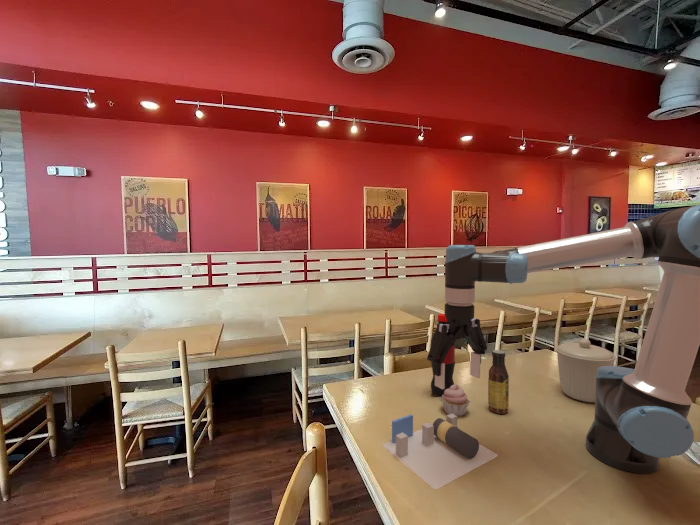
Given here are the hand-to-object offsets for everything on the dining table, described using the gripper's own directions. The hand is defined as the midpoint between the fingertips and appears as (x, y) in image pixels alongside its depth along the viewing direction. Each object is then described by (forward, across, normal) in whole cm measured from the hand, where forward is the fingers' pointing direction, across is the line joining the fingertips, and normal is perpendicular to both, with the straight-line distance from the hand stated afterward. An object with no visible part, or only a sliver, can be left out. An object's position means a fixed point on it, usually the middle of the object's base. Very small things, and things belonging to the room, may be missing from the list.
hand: (458, 381), depth 91 cm
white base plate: (+19, +5, -1) cm, 20 cm away
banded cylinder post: (+18, +1, 0) cm, 18 cm away
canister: (+19, -64, +1) cm, 66 cm away
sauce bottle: (+19, -28, -8) cm, 35 cm away
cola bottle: (+19, -21, -26) cm, 39 cm away
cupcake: (+19, -14, -14) cm, 28 cm away
